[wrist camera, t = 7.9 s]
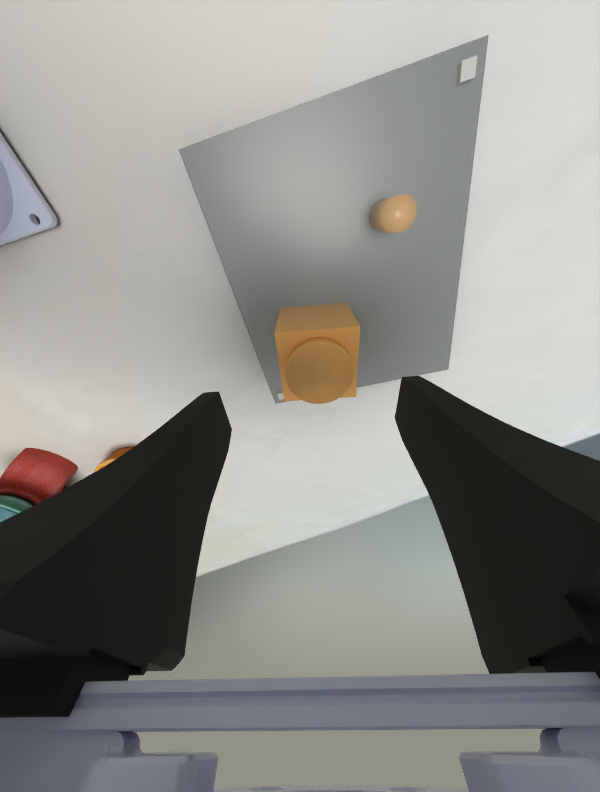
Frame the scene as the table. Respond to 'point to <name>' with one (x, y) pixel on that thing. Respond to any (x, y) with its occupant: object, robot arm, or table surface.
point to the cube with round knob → (317, 352)
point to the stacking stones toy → (37, 479)
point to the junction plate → (352, 210)
